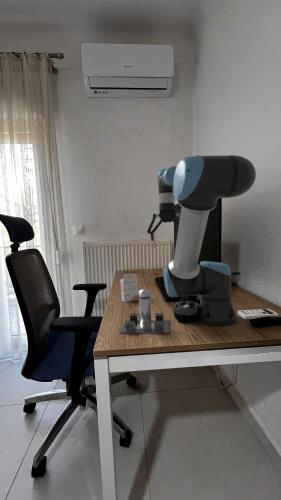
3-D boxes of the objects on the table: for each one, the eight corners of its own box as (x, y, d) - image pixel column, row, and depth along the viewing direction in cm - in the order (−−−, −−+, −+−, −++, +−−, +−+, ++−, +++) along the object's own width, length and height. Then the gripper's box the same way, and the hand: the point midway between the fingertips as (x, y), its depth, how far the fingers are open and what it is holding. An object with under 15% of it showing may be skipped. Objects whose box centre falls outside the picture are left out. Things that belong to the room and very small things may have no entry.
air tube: (152, 323, 95) (150, 288, 94) (151, 328, 91) (149, 291, 90) (140, 323, 96) (139, 288, 95) (139, 328, 91) (137, 291, 90)
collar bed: (169, 321, 98) (168, 312, 98) (169, 333, 86) (169, 324, 86) (125, 321, 100) (125, 313, 100) (119, 333, 88) (119, 324, 88)
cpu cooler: (202, 306, 95) (177, 310, 94) (203, 320, 96) (179, 324, 95) (192, 299, 106) (170, 303, 104) (194, 311, 106) (172, 316, 105)
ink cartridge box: (135, 298, 136) (134, 272, 135) (139, 300, 132) (137, 273, 131) (121, 300, 133) (119, 273, 132) (124, 302, 129) (122, 275, 128)
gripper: (192, 202, 119) (193, 245, 120) (141, 205, 122) (143, 247, 123) (194, 200, 111) (195, 246, 113) (140, 203, 114) (142, 248, 116)
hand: (168, 247), depth 118 cm, fingers open, 13 cm apart
